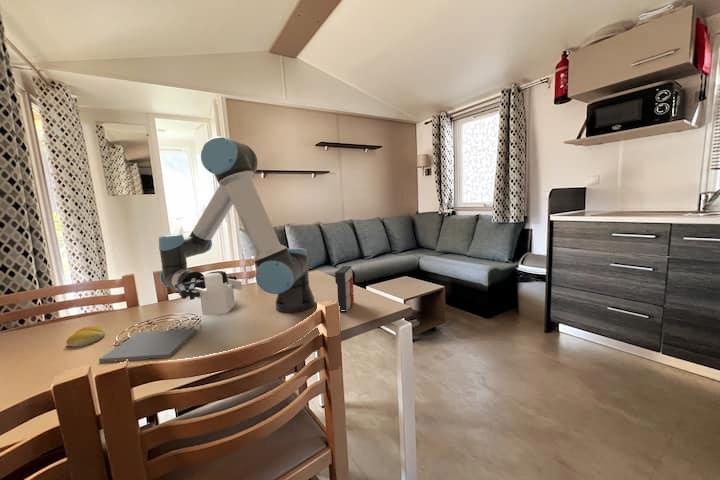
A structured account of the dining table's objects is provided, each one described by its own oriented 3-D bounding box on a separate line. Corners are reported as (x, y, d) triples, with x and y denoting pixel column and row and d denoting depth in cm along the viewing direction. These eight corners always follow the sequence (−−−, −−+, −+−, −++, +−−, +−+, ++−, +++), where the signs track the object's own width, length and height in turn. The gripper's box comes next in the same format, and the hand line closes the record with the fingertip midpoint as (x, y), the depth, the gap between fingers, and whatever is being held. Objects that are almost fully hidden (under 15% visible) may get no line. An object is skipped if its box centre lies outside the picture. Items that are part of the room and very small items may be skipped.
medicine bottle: (212, 307, 93) (207, 270, 92) (235, 305, 94) (231, 268, 92) (202, 315, 86) (197, 276, 85) (227, 313, 87) (222, 274, 85)
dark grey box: (348, 312, 107) (346, 272, 105) (336, 312, 108) (334, 272, 106) (354, 302, 118) (353, 265, 116) (344, 301, 118) (342, 265, 116)
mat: (197, 331, 95) (197, 328, 95) (169, 357, 79) (169, 354, 79) (139, 335, 94) (138, 332, 94) (99, 362, 78) (98, 359, 78)
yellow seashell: (61, 350, 86) (59, 337, 86) (78, 337, 95) (76, 325, 94) (96, 344, 89) (94, 332, 89) (109, 332, 98) (107, 321, 97)
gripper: (221, 283, 109) (258, 291, 96) (152, 301, 91) (186, 315, 78) (219, 263, 108) (256, 269, 95) (149, 278, 90) (182, 288, 77)
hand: (224, 290), depth 86 cm, fingers closed on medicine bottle, 10 cm apart
